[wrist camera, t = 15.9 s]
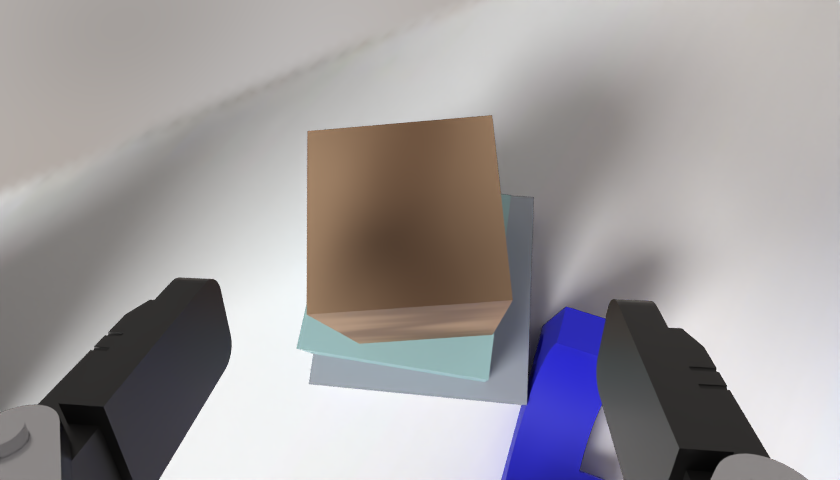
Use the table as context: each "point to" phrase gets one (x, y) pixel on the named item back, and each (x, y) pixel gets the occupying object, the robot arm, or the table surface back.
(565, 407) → the cable clip
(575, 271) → the table surface
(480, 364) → the teal top slab
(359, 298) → the walnut block
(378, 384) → the slate base slab
